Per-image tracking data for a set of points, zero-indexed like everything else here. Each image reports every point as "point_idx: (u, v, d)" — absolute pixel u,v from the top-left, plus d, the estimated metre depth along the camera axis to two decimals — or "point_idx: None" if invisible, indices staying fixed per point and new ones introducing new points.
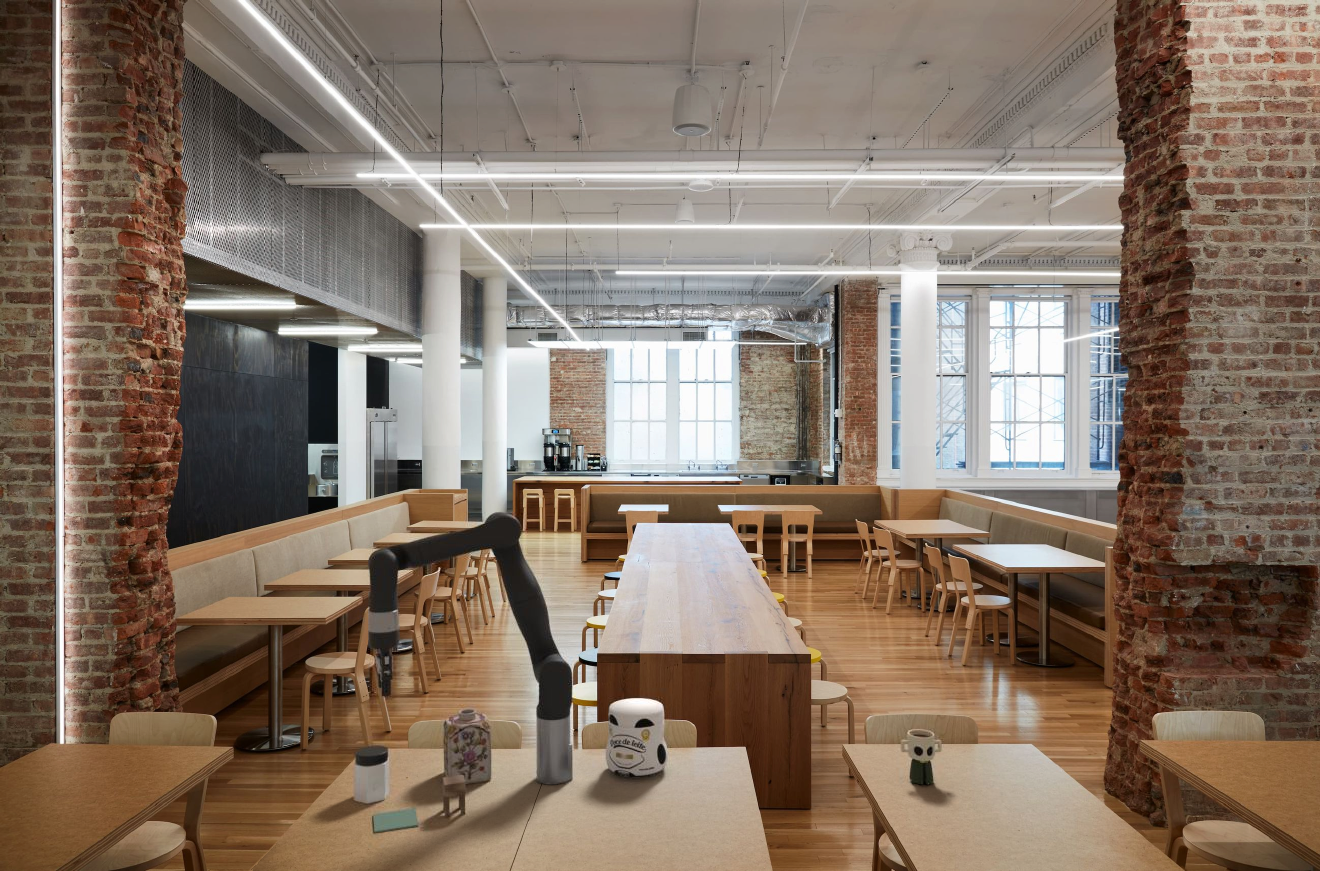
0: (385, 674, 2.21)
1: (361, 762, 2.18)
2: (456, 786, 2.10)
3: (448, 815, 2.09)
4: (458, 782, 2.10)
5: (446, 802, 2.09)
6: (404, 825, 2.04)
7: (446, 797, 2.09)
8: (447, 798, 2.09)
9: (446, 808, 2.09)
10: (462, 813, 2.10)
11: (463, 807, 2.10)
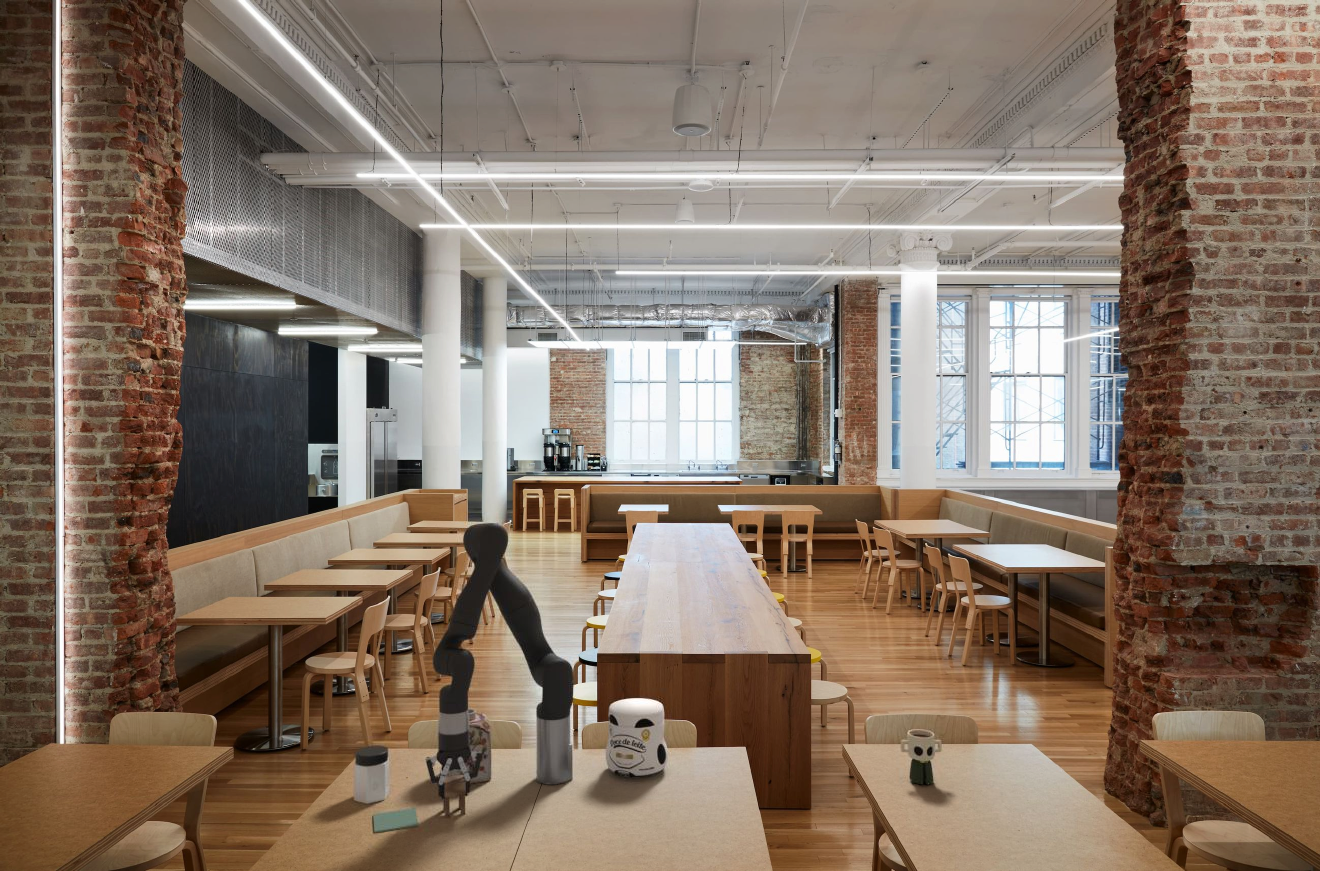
0: None
1: (361, 762, 2.18)
2: (456, 786, 2.10)
3: (448, 815, 2.09)
4: (458, 782, 2.10)
5: (446, 802, 2.09)
6: (404, 825, 2.04)
7: (446, 797, 2.09)
8: (447, 798, 2.09)
9: (446, 808, 2.09)
10: (462, 813, 2.10)
11: (463, 807, 2.10)
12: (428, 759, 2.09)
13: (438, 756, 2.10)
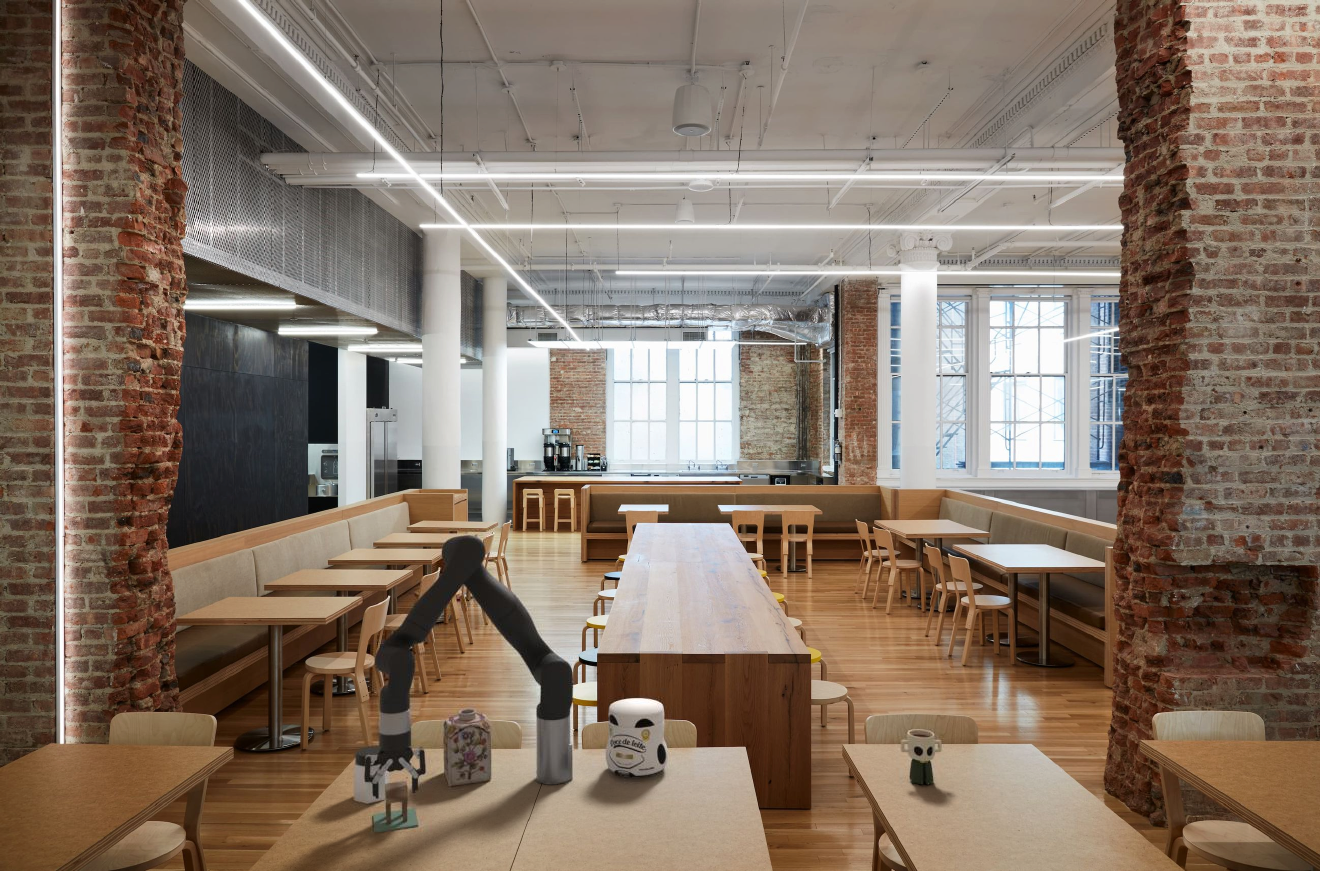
0: None
1: (361, 762, 2.18)
2: (398, 792, 2.05)
3: (389, 822, 2.04)
4: (400, 788, 2.06)
5: (387, 809, 2.04)
6: (404, 825, 2.04)
7: (387, 804, 2.04)
8: (388, 805, 2.04)
9: (387, 815, 2.04)
10: (404, 820, 2.06)
11: (405, 814, 2.06)
12: (368, 756, 2.05)
13: (379, 756, 2.05)
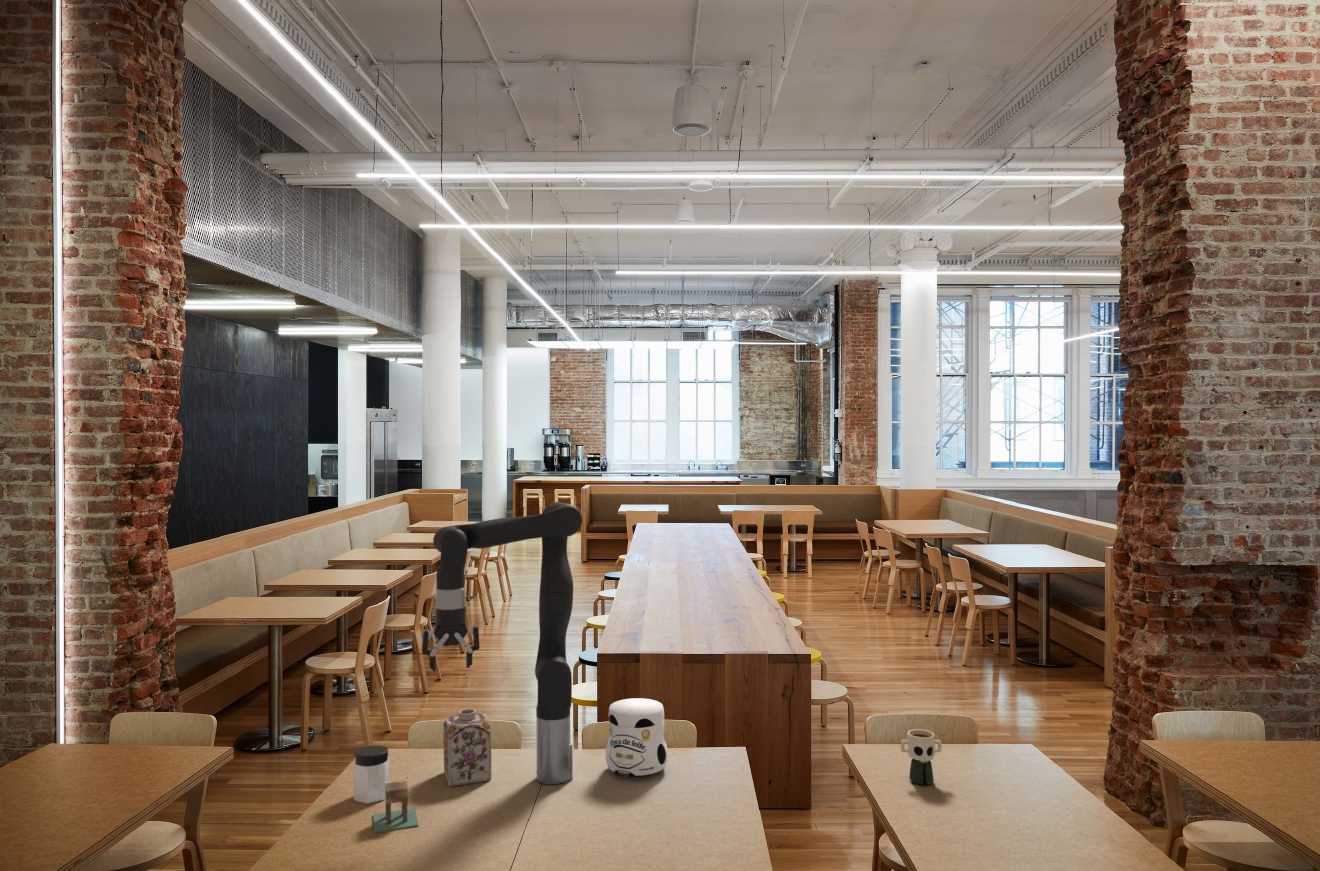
0: None
1: (361, 762, 2.18)
2: (398, 792, 2.05)
3: (389, 822, 2.04)
4: (400, 788, 2.06)
5: (387, 809, 2.04)
6: (404, 825, 2.04)
7: (387, 804, 2.04)
8: (388, 805, 2.04)
9: (387, 815, 2.04)
10: (404, 820, 2.06)
11: (405, 814, 2.06)
12: (426, 630, 2.15)
13: (436, 630, 2.16)
